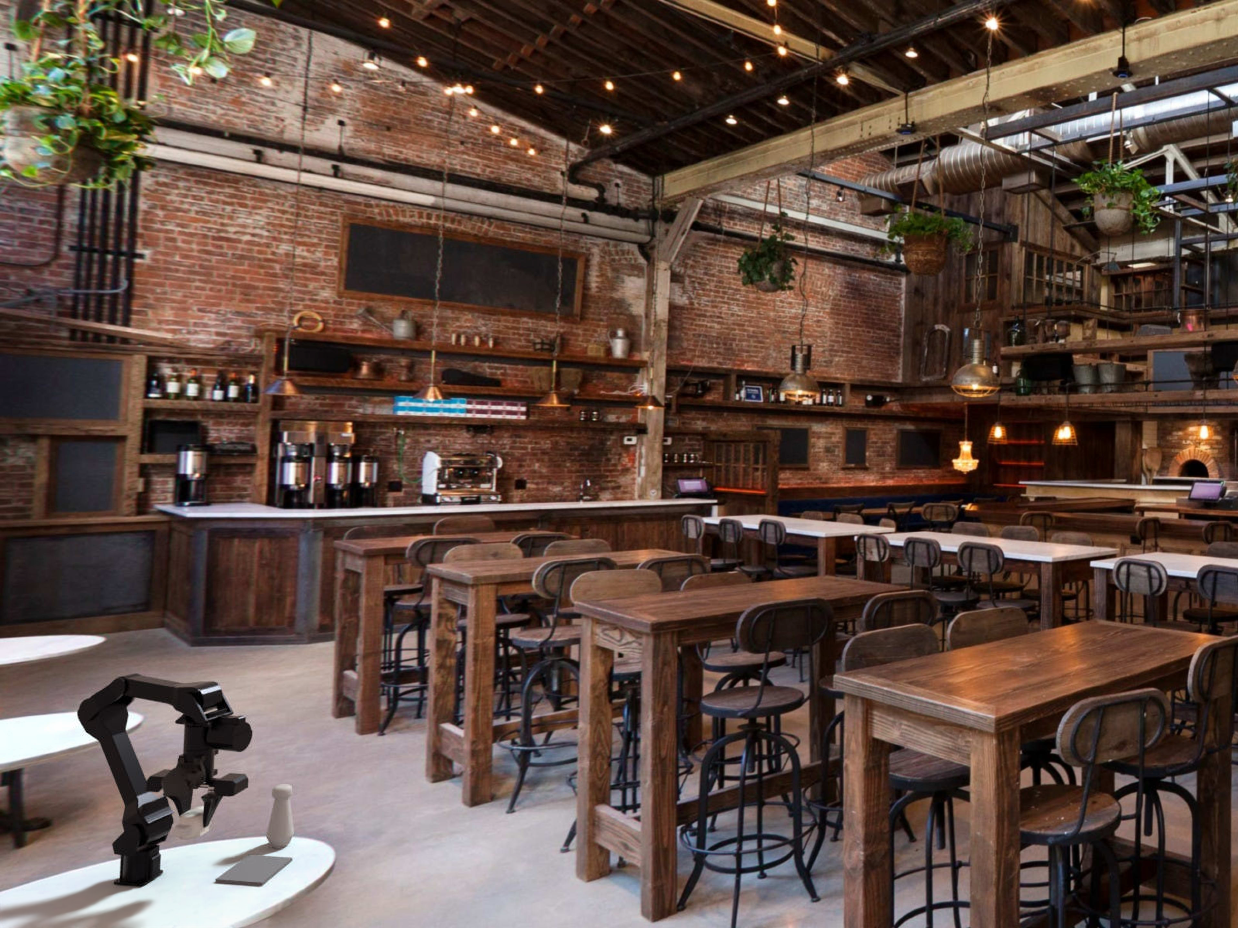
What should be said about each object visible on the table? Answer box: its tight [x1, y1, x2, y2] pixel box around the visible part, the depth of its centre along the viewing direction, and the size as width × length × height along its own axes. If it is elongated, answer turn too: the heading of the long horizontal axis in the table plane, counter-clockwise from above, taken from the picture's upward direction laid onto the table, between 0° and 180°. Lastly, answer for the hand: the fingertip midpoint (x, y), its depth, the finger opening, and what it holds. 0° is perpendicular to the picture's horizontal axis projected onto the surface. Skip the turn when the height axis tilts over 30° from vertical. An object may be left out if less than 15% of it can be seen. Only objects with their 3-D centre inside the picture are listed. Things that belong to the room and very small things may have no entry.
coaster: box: [215, 854, 293, 886], centre depth 171 cm, size 10×12×1 cm
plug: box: [171, 805, 212, 841], centre depth 163 cm, size 9×4×4 cm, turn 174°
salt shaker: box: [265, 783, 295, 849], centre depth 185 cm, size 6×6×13 cm
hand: (195, 826), depth 164 cm, fingers closed on plug, 4 cm apart
